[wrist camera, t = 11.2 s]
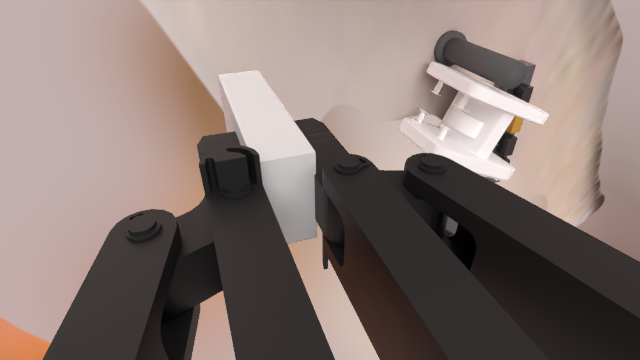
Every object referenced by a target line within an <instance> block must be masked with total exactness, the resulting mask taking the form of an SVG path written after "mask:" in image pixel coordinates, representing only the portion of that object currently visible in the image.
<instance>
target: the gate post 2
mask: <svg viewBox="0 0 640 360" xmlns="http://www.w3.org/2000/svg"><path fill="white" fill-rule="evenodd" d="M434 54H435V58H436V60H437V62H439V63H440V64H443V65H445V66H452V65H454V64H455V65H458V66H460V67H462V68H464V69H466V70H468V71H470V72H473V73H475V74H477V75H479V76H481V77H483V78H485V79H488V80H490V81H492V82H494V83H496V84H498V85H500V86H503V87H505V88H507V89H513V88H516V87H517V86H518V85H520V84H521V82H522V81H523V80H524V78H525V76H526V72H527V67H526V65H525V64H524V63H523V62H520V61H518V60H515V59H512V58H510V57H507V56H504V55H502V54H499V53H496V52H494V51H491V50H488V49H486V48H483V47H480V46H478V45H475V44H472V43H470V42H467V40H466V37H465V36H464V35H463V34H462V33H460V32H457V31H448V32H446V33H445V34H443V35H442V36H441V37H440V38H439V40H438V42H437V44H436V46H435V51H434Z"/></svg>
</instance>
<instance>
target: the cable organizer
mask: <svg viewBox="0 0 640 360" xmlns="http://www.w3.org/2000/svg"><path fill="white" fill-rule="evenodd" d="M426 72H427V73H428V74H430V75H431V76H433V77H435V78H436V79H438V80H439V81H438V83H437V85H436V87H435V89H434V91H432V90H431V92H433V93H434V94H436V95H439V96H441V95H440V94H438V93H439V92H440V90H441V88H442V86H443V84H444V83H445V84H447V85H449V86H451V87H453V88H455V89H456V90H458V93H457V95H456V96H455V98H454V100H453V102H452V104H451V105H450V107H449V109H448V111H447V112H446V114H445V116H444V118H443V120H442V121H441V123H440V125H439V127H437V126H434V125H431V124H428V123H424V122H422V121H423V119H424V117H425V115H426V114H428V113H427V112H426V111H424V110H422V109H420V111H421V113H420V115H419V117H418V118H417V120H415V119H412V118H406V117H405V118H403V120H402V122H401V123H400V126H399V127H398V129H399V130H400V131H401V132H402V133H403V134H404V135H405V136H406V137H408V138H409V139H410V140H411V141H412V142H414V143H415V144H416V145H417V146H418V147H419V148H421V149H422V150H423V151H424V152H425V153H434V154H437V155H442V156H444V157H447V158H449V159H451V160H453V161H455V162H457V163H458V164H460V165H462V166H464V167H466V168H468V169H470V170H471V171H473V172H475V173H477V174H479V175H481V176H483V177H489V178H493V179H494V180H496V181H497V180H500V181H502V180H508V179H509V178H510V177H511V175H512V174H513V172H514V171H515V168H514V167H513V166H512V165H510V164H509V163H507V162H506V161H504V160H503V159H501V158H500V157H499V156H497V155H496V154H494V153H493V152H492V151H493V149H494V148H495V146H496V145H497V143H498V141H499V140H500V138H501V137H502V135H503V134H504V132H505V130H506V129H507V127H508V126H509V124H510V123H511V121H512V120H513V118H514V116H517V117H520V118H522V119H525V120H528V121H530V122H533V123H536V124H539V125H543V124H544V122H545V121H546V119H547V118H548V116H549V114H548V113H546V112H545V111H543V110H541V109H540V108H538V107H536V106H533V105H531V104H529V103H527V102H525V101H523V100H521V99H519V98H517V97H515V96H513V95H511V94H508V93H506V92H504V91H502V90H500V89H498V88H496V87H494V86H492V85H489V84H487V83H485V82H482V81H480V80H478V79H475V78H473V77H471V76H468V75H466V74H464V73H461V72H459V71H457V70H454V69H452V68H450V67H448V66H445V65H443V64H440V63H437V62H431V63H430V65H429V67H428V69H427V71H426ZM429 90H430V89H429ZM418 109H419V108H418ZM429 115H430V114H429ZM498 146H499V145H498Z"/></svg>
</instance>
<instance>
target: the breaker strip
mask: <svg viewBox="0 0 640 360" xmlns="http://www.w3.org/2000/svg"><path fill="white" fill-rule="evenodd" d="M520 62H523V63H524V64H525V65H526V67H527V72H526V76H525V78H524V80H523V81H522V82H521V84H520V85H518V86H517V87H516V88H513V89H507V88H505V87H503V86H500V85H498V84H496V83H495V87H496V88H498V89H500V90H502V91H504V92H506V93H508V94H511V95H513V96H515V97H517V98H519V99H521V100H523V101H525V102H527V103H529V100H530V97H531V94H532V91H533V88H534V87H532V86H529V85H530V82H531V79H532V76H533V73H534V69H535V66H536V65H534V64H531V63H529V62H526V61H523V60H521V61H520ZM522 122H523V119H522V118H520V117H517V116H514V118H513V120H512V121H511V123H510V124H509V126H508V127H507V129H506V130H505V132H504V134H503V135H502V137H501V138H500V140H499V141H498V143H497V145H496V146H495V148H494V149H493V151H492V152H493V153H494V154H496V155H497V156H499V157H500V158H501V159H503V160H504V161H506V162H507V163H509V162H510V160H509V159H508V158H507V156H509V155H512V153H513V150H514V147H515V144H516V141H517V137H515V136H514V133H516V132H519V131H520V128H521V125H522ZM498 145H499V146H498ZM482 177H483V176H482ZM484 178H486V179H488V180H490V181H492V182H493V183H495V182H499V181H500V180H497V181H496V180H494V179H493V178H489V177H484Z"/></svg>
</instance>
